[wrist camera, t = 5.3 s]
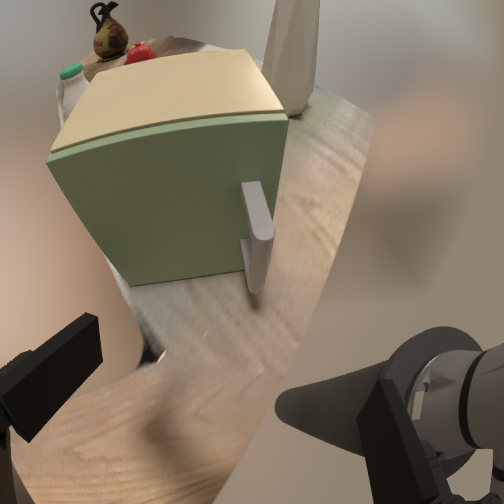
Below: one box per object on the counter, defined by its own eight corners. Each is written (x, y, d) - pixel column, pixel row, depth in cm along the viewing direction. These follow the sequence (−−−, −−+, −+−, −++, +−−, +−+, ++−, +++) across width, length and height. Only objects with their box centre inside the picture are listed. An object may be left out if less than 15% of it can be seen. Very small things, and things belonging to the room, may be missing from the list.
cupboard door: (274, 308, 33) (319, 176, 14) (130, 328, 31) (21, 226, 12) (262, 260, 36) (285, 112, 18) (129, 279, 34) (49, 154, 15)
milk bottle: (85, 162, 46) (53, 80, 29) (78, 147, 49) (50, 73, 32) (117, 144, 49) (93, 60, 32) (107, 130, 52) (85, 56, 35)
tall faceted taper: (245, 108, 56) (252, -28, 28) (276, 94, 61) (289, -25, 33) (290, 129, 52) (312, -23, 24) (317, 112, 57) (343, -16, 29)
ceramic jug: (124, 49, 89) (116, -4, 64) (134, 53, 84) (126, -6, 58) (91, 62, 83) (80, 8, 58) (97, 67, 78) (85, 7, 52)
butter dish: (127, 61, 78) (124, 43, 71) (155, 54, 80) (153, 36, 73) (123, 70, 73) (120, 50, 65) (154, 62, 75) (152, 42, 67)
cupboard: (262, 259, 37) (284, 109, 18) (130, 278, 34) (49, 151, 15) (241, 175, 45) (245, 48, 26) (135, 191, 42) (97, 73, 23)
